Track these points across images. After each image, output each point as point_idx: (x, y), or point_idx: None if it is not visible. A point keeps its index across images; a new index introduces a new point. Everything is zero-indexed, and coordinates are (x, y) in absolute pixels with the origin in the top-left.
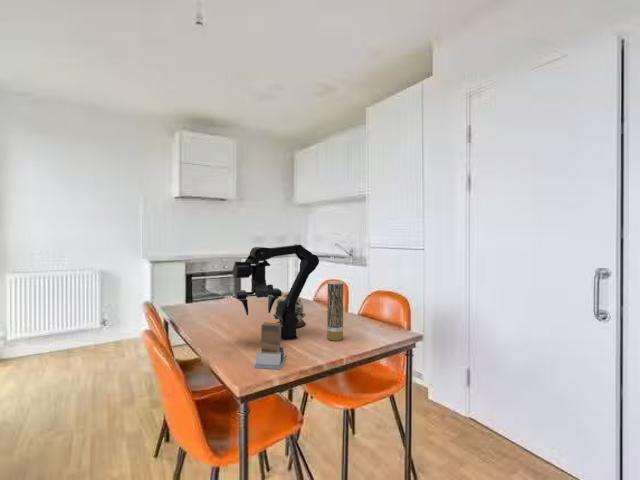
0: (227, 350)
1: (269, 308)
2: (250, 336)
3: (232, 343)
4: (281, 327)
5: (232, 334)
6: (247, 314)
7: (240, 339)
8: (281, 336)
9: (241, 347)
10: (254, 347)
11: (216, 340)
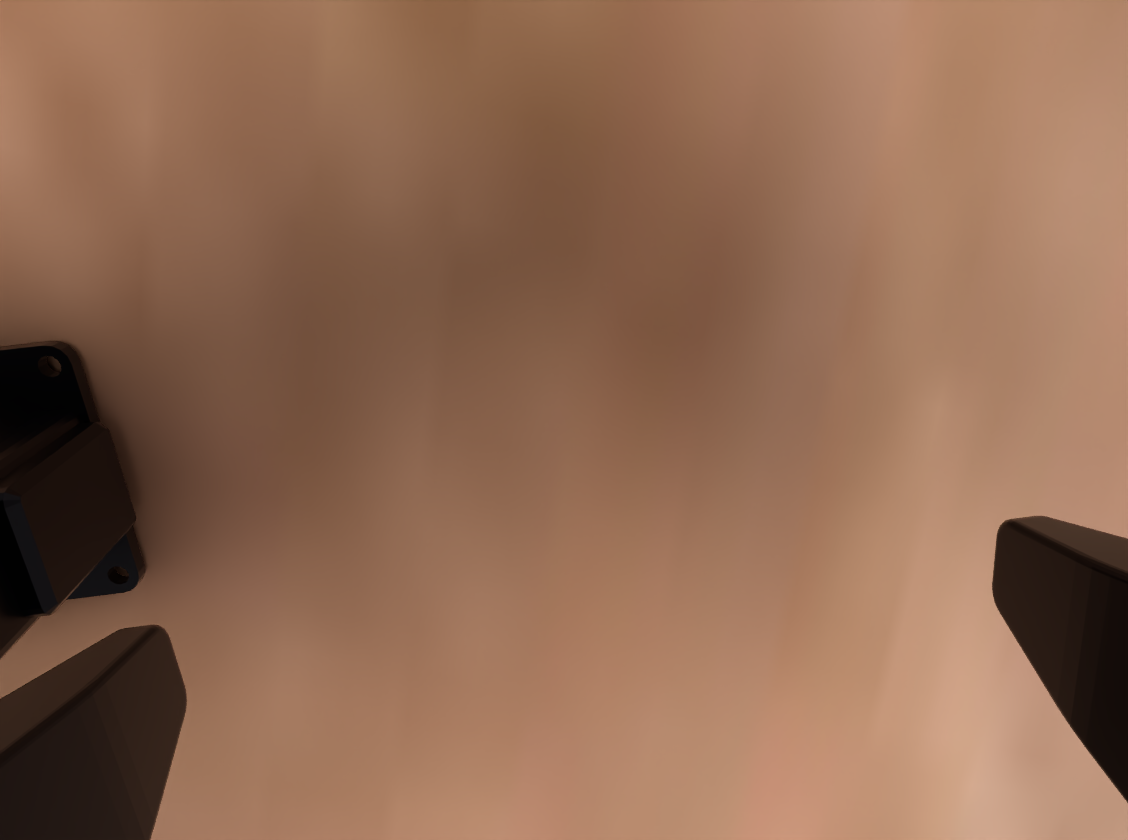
0: (1103, 54)
1: (28, 740)
2: (619, 660)
3: (943, 398)
4: (8, 544)
5: (851, 794)
6: (1045, 521)
7: (788, 558)
8: (96, 429)
9: (854, 149)
10: (643, 78)
11: None
